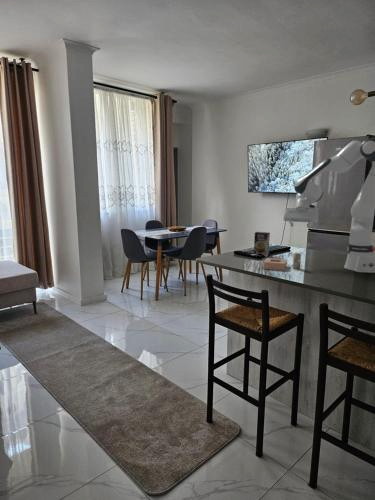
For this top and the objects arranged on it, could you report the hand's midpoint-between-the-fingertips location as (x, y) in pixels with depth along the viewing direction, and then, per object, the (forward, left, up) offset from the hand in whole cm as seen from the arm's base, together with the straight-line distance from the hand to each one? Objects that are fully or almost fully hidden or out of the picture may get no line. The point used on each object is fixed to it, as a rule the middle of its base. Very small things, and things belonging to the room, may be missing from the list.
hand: (299, 226), depth 207 cm
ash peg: (0, +13, -23) cm, 27 cm away
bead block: (+12, +14, -23) cm, 30 cm away
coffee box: (+25, -17, -23) cm, 38 cm away
